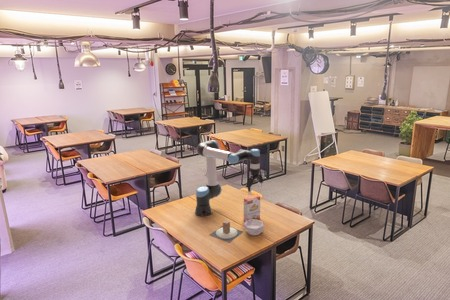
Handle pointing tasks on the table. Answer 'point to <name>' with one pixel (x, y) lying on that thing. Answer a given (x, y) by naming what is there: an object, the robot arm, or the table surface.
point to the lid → (226, 231)
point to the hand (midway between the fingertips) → (254, 192)
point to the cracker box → (252, 207)
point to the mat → (227, 239)
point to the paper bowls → (254, 227)
